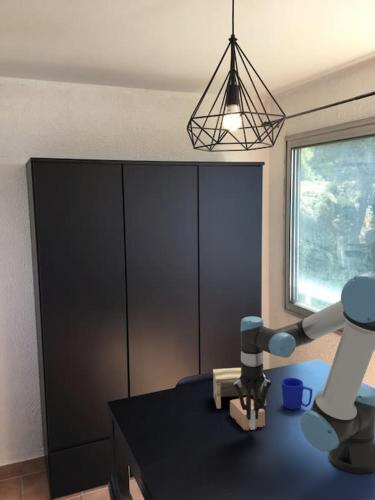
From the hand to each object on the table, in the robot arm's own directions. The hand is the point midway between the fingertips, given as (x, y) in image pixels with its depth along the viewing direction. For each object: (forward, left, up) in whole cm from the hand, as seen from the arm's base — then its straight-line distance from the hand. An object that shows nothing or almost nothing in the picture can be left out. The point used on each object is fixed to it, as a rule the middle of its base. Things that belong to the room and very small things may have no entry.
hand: (252, 427), depth 151 cm
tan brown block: (+9, 0, -3) cm, 10 cm away
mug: (+16, -21, -3) cm, 27 cm away
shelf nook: (+24, 0, -3) cm, 25 cm away
